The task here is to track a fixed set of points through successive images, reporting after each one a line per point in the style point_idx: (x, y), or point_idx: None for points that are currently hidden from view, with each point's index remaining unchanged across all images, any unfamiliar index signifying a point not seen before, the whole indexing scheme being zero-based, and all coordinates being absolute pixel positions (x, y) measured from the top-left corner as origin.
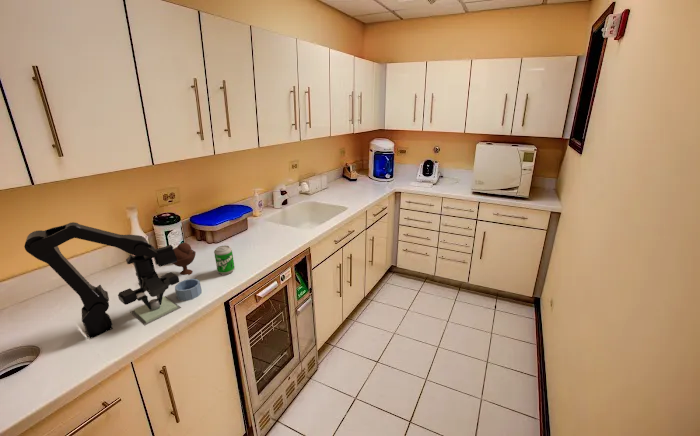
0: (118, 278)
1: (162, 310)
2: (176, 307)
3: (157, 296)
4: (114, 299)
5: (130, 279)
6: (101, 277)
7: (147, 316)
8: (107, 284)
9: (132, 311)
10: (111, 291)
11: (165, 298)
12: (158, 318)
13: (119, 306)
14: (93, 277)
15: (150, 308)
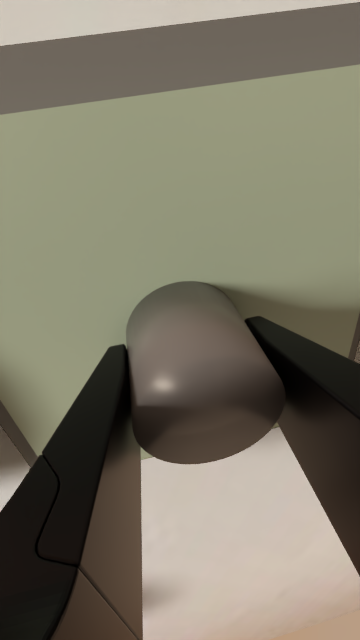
0: (218, 626)
1: (122, 196)
2: None
3: (132, 494)
4: (302, 537)
5: (185, 620)
6: (257, 632)
7: (335, 193)
8: (263, 608)
9: None
10: (277, 579)
11: (41, 444)
12: (228, 30)
13: None
14: (273, 633)
15: (257, 323)
